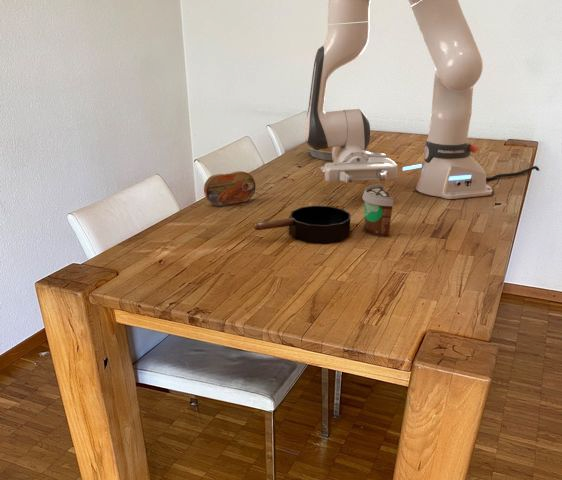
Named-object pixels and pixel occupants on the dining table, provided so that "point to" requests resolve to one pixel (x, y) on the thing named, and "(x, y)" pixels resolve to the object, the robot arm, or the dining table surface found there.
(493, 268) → the dining table surface
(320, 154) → the pie
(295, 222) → the pan
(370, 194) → the food container
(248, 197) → the tin
